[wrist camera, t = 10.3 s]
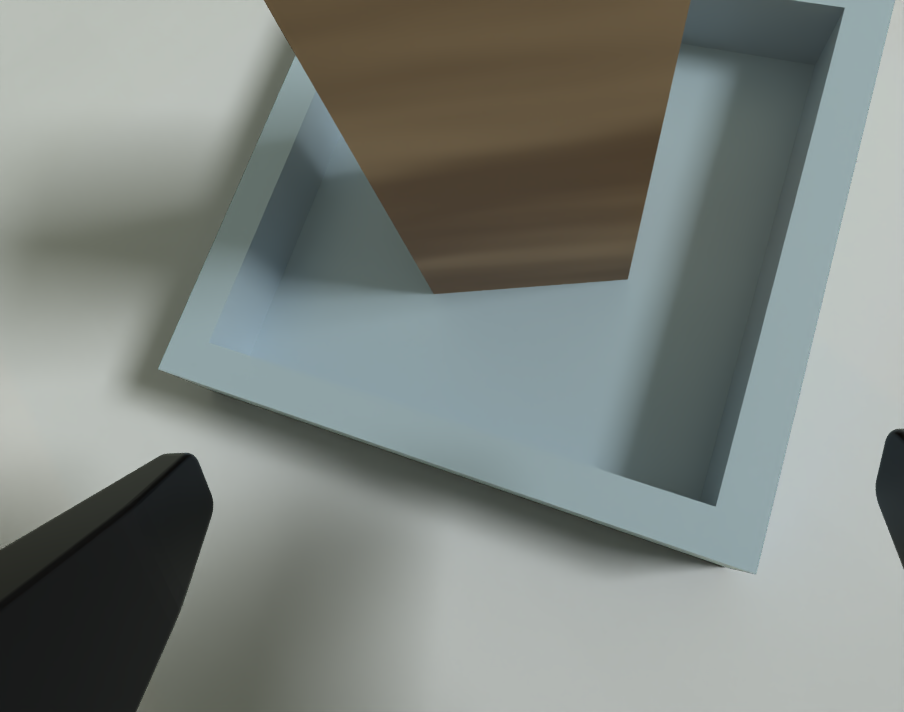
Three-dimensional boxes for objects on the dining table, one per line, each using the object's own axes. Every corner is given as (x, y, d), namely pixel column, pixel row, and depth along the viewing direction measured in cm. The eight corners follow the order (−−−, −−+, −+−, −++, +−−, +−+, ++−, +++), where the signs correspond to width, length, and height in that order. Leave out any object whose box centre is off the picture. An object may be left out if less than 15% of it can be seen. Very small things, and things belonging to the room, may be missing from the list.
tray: (727, 567, 15) (755, 574, 13) (210, 390, 19) (157, 369, 16) (856, 52, 18) (900, -22, 15) (383, -21, 21) (360, -92, 19)
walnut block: (628, 279, 17) (788, -435, 4) (433, 294, 18) (106, -273, 5) (615, 140, 18) (716, -758, 5) (432, 160, 19) (157, -579, 6)
